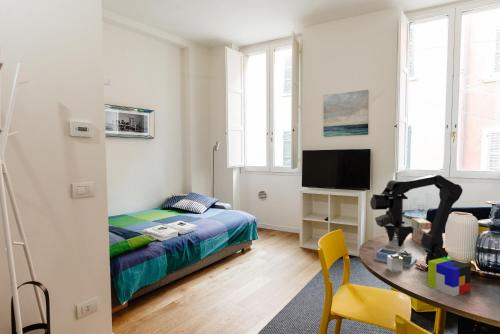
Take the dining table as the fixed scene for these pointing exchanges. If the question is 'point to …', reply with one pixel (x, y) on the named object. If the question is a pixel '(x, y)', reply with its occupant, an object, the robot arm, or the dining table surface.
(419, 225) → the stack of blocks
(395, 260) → the engine block
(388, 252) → the chassis
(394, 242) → the french press
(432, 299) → the dining table surface
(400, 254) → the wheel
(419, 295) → the dining table surface
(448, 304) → the dining table surface
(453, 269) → the puzzle toy
